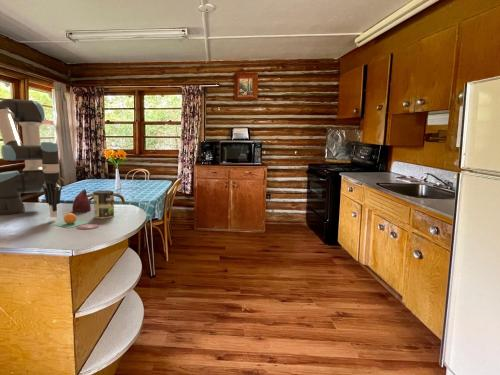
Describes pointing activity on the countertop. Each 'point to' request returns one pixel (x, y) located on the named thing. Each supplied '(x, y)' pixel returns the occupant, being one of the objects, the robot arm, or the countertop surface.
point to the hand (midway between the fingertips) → (53, 217)
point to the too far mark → (87, 226)
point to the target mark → (76, 223)
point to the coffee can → (103, 204)
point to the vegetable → (81, 203)
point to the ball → (70, 218)
